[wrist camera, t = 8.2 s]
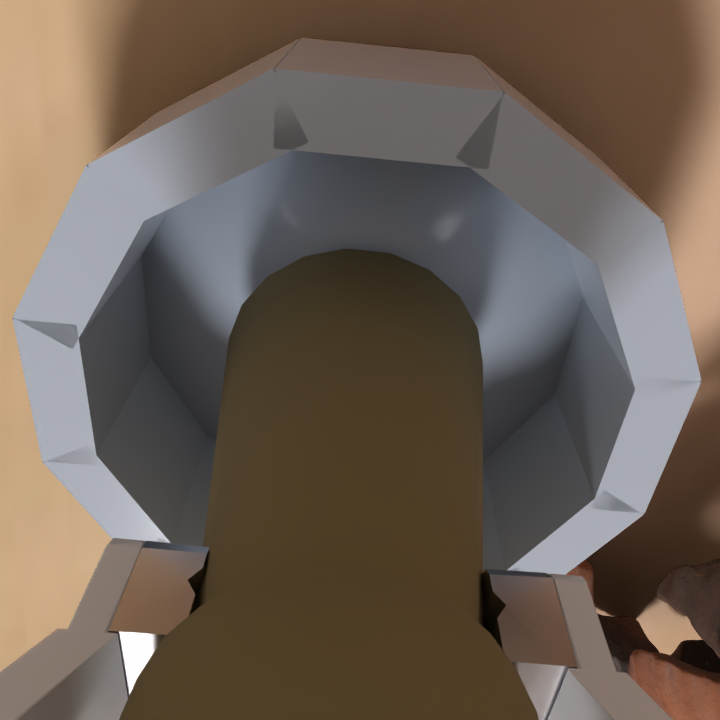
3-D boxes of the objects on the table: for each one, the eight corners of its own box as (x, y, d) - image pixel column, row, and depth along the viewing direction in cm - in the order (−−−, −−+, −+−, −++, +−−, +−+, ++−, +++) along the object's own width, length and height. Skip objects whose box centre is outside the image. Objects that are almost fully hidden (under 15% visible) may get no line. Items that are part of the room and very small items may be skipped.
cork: (374, 192, 14) (361, 720, 4) (532, 385, 16) (745, 998, 7) (174, 349, 16) (-128, 936, 6) (339, 500, 18) (295, 1089, 9)
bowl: (691, 72, 14) (812, 122, 10) (547, 515, 21) (585, 649, 17) (77, 9, 14) (-47, 35, 10) (132, 479, 21) (72, 607, 17)
